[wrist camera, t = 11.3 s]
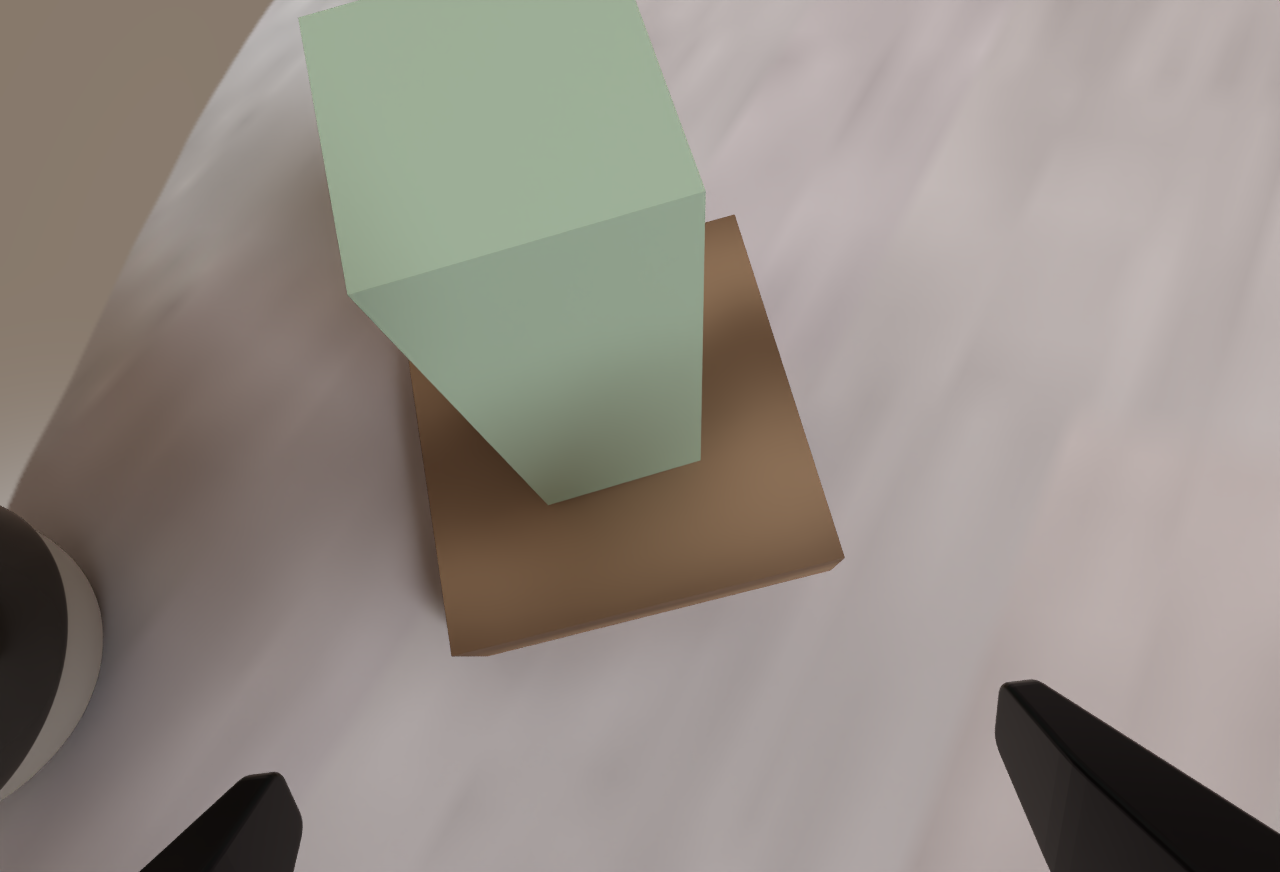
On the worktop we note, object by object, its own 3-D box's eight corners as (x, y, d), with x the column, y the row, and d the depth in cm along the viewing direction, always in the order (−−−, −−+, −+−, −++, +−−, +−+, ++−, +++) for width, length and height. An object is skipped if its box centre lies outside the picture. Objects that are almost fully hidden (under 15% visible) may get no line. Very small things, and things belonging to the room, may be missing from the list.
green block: (700, 460, 21) (705, 190, 9) (548, 505, 21) (346, 294, 9) (656, 322, 22) (609, -71, 10) (513, 364, 22) (299, 18, 10)
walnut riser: (829, 571, 23) (844, 557, 20) (492, 656, 23) (451, 656, 20) (734, 270, 26) (734, 214, 23) (442, 350, 27) (400, 307, 23)
